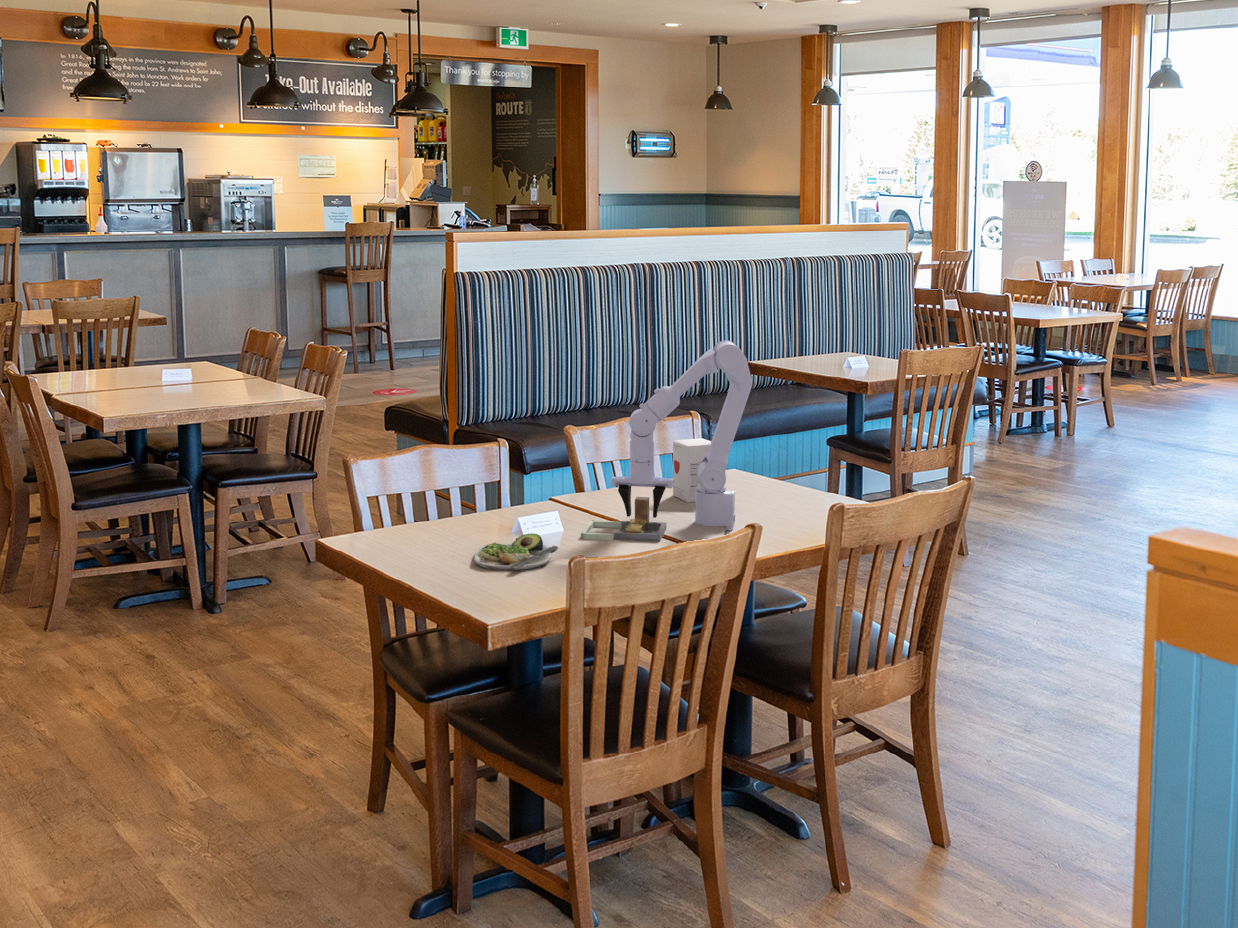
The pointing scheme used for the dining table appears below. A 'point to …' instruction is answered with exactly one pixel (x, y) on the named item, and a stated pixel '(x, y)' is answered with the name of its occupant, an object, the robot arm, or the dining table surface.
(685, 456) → the supplement box
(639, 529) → the chip
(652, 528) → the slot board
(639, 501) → the brown block with peg
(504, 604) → the dining table surface
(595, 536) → the tray
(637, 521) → the brushed gold cube
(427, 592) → the dining table surface
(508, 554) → the salad plate
